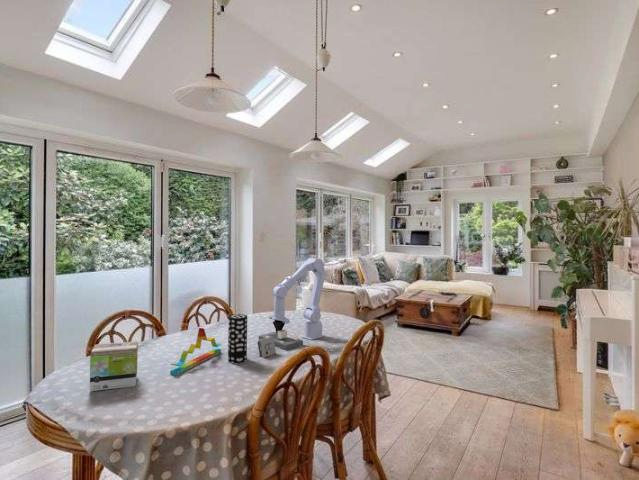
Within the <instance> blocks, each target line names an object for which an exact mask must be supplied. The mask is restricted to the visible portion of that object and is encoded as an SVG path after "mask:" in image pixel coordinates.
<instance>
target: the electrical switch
mask: <svg viewBox="0 0 639 480" xmlns="http://www.w3.org/2000/svg"><path fill="white" fill-rule="evenodd" d="M257 347H258V352H259V353H258V354H259V357H262V358H267V357H269V356H273V355H276V353H277V350H276V347H275V344H274V338H273V336H271V337H268V338H264V339H261V340H260V341H259V340H258V341H257Z"/></svg>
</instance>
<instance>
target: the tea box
mask: <svg viewBox="0 0 639 480" xmlns="http://www.w3.org/2000/svg"><path fill="white" fill-rule="evenodd" d="M138 345H139V341H138V340H134V341H121V342H110V343H107V342H106V343H98V344H94V346H93V348H92V350H91V352H90V354H89V356H90V358H89V359H90V361H89V362H90V363H89V392H90V393H91V392H96V391H97V392H98V391H104V390H111V389H113V390H114V389H123V388H133V387H135V386H136V384H137V378H138V353H139V351H138V349H139V346H138Z"/></svg>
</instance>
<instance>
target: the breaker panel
mask: <svg viewBox="0 0 639 480" xmlns="http://www.w3.org/2000/svg"><path fill="white" fill-rule="evenodd" d="M271 336H273V338H274V344H275V348H278V349H281V350H283V351H287V350H291V349H294V348H295V349H296V348H298V347H303V345H304V340H303V339H301V338H297V337H294V336H291V335H288V334H287V338H283V339H280V338H278V335H277V334H276V331H273V332H269V333H264V334H261V335H258V341H260V340H261V339H264V338H268V337H271Z"/></svg>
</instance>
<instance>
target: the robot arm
mask: <svg viewBox="0 0 639 480" xmlns="http://www.w3.org/2000/svg"><path fill="white" fill-rule="evenodd" d="M325 265H326V264H325V263H324V261H323V259H320V258H315V257H309V258H307V259H306V260H305V261H303V263H302V265H300V266H299V268H298V269H297V270H296V271H295V272H294V273H293V274H292V275H289V276H286V277H285V278H284V280H283V281H281V283H279V284H278V285H276V286H275V287H274V288H273V290H272V291H271V293H272V295H273V314H269V315H268V316H269V317H268V319H269V320H273V321H272V324H273V327H274V329H275V332H276V334H277V335H278V331H280V330H284V329H283V328H284V326H285V324H286V325H287V324H290V323H291V322H290V319H289V318H288V317H286V316H285V315H286V297H287V295H288V292H289V291H290V290H291V289H292V288H293V287H294V286H295V285H296V284H297V281H298V280H299V279H300V278H301V277H302V276H303V275H305V274H306V273H307V272H312V273H313V275H314V280H313V285H312V290H311V293H310V298H309V303H307V305H306V306H305V309H304V310H303V317H304V319H305V321H304V322H305V325H304V335H302V336H301V337H302V338H304V339H308V340H311V341H313V340H317V339H320V338H323V337H324V335H323V323H322V321H321V316H322V315H321V310H322V309H321V307H320V301H321V297H322V292H323V287H324V282H325V279H326V271H325V269H326V268H325Z"/></svg>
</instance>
